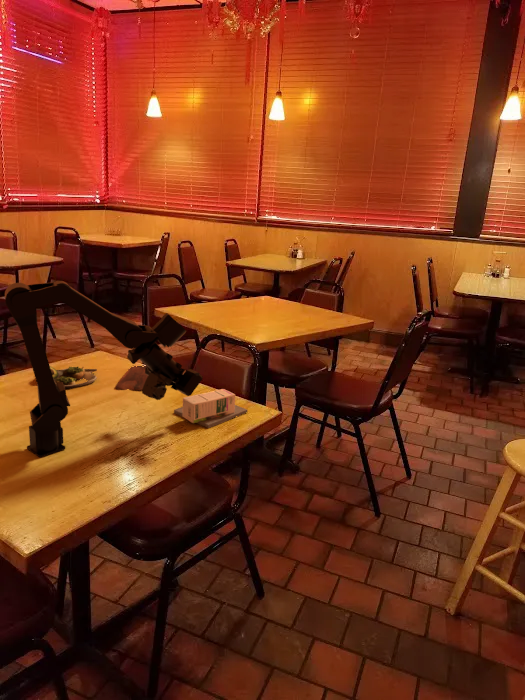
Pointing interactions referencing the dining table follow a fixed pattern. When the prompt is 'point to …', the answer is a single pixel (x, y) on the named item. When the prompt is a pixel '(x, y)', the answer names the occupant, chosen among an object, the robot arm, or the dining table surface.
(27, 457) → the dining table surface
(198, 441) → the dining table surface
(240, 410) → the slate board
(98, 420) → the dining table surface
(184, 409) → the syrup box
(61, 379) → the salad plate
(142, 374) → the wooden tablet
